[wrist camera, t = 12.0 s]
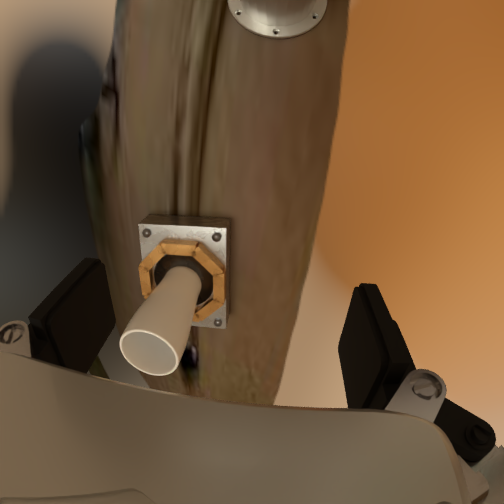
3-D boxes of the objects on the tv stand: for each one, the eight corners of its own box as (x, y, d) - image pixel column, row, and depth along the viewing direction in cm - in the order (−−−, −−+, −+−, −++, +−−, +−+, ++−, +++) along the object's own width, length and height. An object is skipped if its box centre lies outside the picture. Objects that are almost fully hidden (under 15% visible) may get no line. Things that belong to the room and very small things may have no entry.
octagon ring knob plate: (149, 214, 44) (134, 227, 40) (230, 218, 44) (224, 232, 39) (158, 306, 51) (147, 326, 46) (229, 313, 51) (224, 335, 46)
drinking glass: (158, 257, 43) (112, 325, 29) (206, 261, 42) (174, 334, 29) (164, 298, 46) (126, 371, 32) (208, 303, 45) (182, 380, 32)
